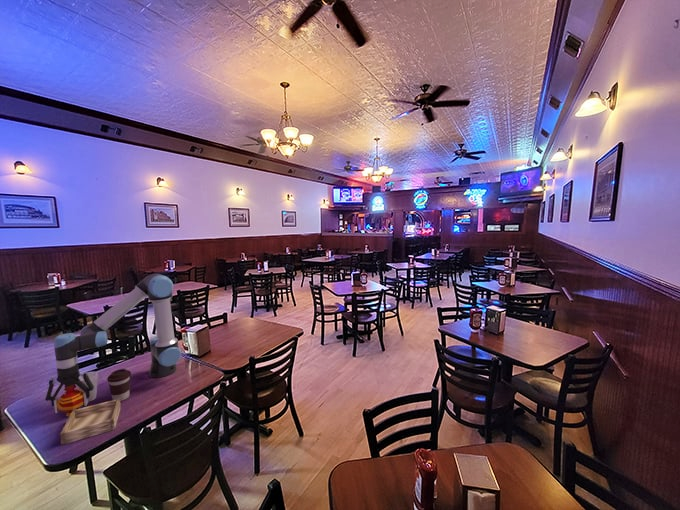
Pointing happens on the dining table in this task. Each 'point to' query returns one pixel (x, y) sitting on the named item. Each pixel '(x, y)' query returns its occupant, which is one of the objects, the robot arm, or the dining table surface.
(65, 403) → the potion bottle
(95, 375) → the foam cup
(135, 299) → the robot arm
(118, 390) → the coffee cup
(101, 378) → the dining table surface
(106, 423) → the tray
